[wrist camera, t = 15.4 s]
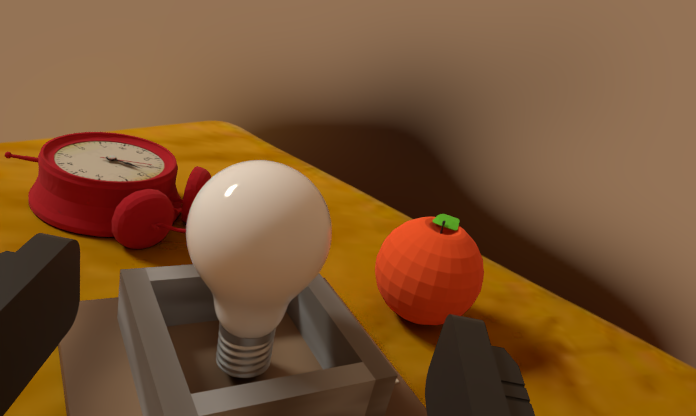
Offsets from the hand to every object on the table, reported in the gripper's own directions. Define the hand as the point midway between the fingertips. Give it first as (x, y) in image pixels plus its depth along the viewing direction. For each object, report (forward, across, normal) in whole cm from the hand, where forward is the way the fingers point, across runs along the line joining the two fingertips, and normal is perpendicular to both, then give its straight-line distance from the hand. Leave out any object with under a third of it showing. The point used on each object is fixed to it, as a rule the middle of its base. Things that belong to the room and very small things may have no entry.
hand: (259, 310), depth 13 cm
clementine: (+23, -9, +14) cm, 28 cm away
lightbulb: (+12, +1, +13) cm, 18 cm away
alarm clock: (+28, +13, +14) cm, 34 cm away
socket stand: (+12, +1, +14) cm, 19 cm away
